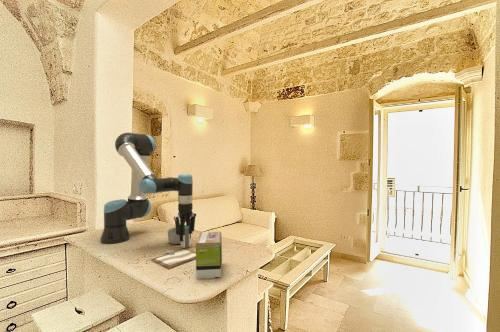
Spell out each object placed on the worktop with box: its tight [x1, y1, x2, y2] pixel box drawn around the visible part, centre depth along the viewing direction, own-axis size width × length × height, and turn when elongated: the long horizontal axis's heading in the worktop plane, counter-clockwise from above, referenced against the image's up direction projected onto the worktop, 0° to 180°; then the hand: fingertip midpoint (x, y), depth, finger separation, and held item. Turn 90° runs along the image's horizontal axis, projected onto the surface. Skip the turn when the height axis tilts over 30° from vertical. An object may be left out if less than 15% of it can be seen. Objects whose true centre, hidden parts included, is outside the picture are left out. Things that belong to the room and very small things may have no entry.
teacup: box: [167, 226, 181, 245], centre depth 140 cm, size 14×11×8 cm
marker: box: [184, 224, 190, 249], centre depth 129 cm, size 3×3×12 cm
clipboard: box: [150, 248, 196, 270], centre depth 115 cm, size 16×19×1 cm
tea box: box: [195, 231, 223, 280], centre depth 102 cm, size 15×10×15 cm
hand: (185, 246), depth 129 cm, fingers closed on marker, 3 cm apart
